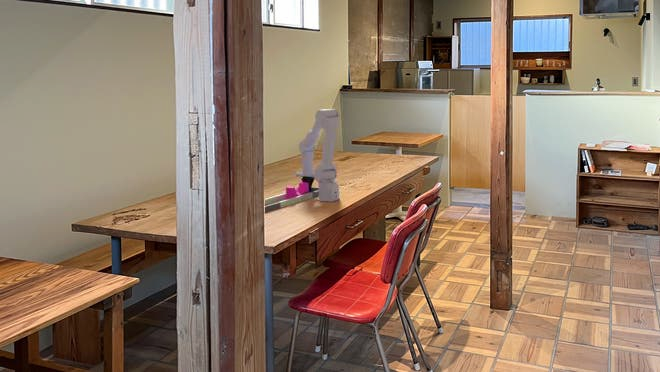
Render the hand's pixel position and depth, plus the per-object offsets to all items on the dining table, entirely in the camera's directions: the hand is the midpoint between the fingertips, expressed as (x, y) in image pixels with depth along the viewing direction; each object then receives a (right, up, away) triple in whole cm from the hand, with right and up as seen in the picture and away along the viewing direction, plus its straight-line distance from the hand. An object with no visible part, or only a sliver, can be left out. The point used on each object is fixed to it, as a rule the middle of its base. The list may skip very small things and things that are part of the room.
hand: (308, 191), depth 352 cm
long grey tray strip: (-9, -5, -13) cm, 17 cm away
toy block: (-6, -4, -10) cm, 12 cm away
